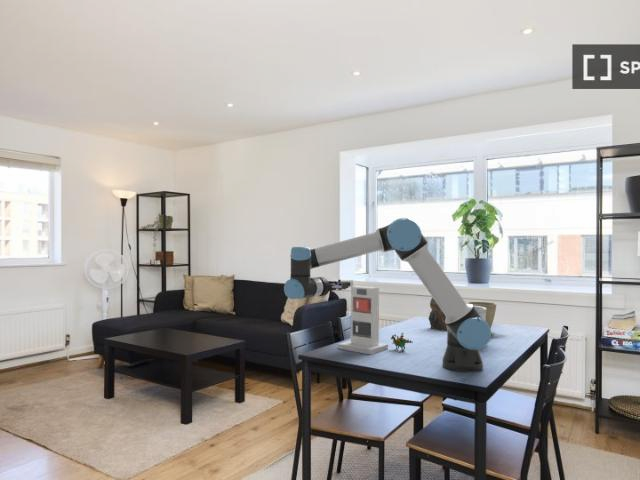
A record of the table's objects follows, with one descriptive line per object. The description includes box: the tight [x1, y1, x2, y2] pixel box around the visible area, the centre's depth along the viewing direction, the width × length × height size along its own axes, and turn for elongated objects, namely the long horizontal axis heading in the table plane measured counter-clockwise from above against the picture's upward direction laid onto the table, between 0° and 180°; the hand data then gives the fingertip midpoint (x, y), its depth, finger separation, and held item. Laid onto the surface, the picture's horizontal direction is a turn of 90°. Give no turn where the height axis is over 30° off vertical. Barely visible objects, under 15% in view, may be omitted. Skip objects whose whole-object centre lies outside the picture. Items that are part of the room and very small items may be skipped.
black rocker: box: [353, 323, 371, 336], centre depth 206 cm, size 2×8×5 cm, turn 63°
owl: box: [428, 296, 447, 332], centre depth 260 cm, size 13×13×20 cm
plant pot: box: [467, 301, 497, 330], centre depth 247 cm, size 15×15×16 cm
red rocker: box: [355, 299, 369, 312], centre depth 206 cm, size 2×8×5 cm, turn 39°
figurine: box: [390, 332, 414, 352], centre depth 203 cm, size 3×12×8 cm, turn 45°
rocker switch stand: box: [337, 285, 389, 355], centre depth 207 cm, size 14×18×28 cm
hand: (351, 283), depth 195 cm, fingers closed
